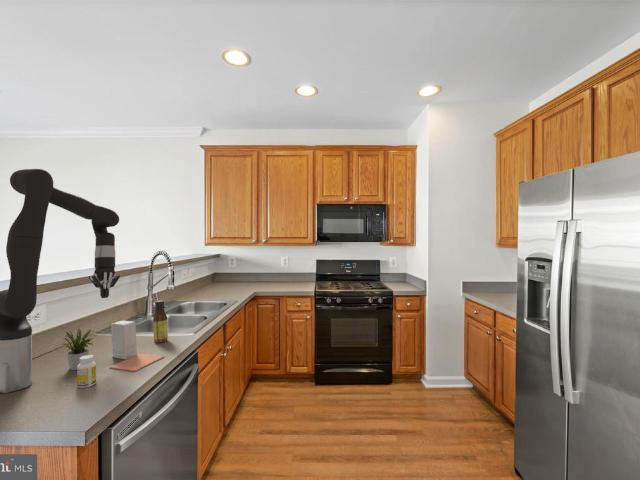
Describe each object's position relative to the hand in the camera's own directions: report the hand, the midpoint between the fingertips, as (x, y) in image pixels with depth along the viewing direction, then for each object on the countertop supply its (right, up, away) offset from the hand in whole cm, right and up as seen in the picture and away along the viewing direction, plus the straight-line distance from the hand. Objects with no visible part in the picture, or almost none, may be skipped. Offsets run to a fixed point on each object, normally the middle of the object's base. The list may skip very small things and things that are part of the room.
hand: (104, 297), depth 144 cm
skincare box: (+7, -26, +2) cm, 27 cm away
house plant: (-5, -26, -11) cm, 29 cm away
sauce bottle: (+13, -26, +24) cm, 37 cm away
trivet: (+16, -26, -4) cm, 31 cm away
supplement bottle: (+10, -26, -25) cm, 38 cm away
